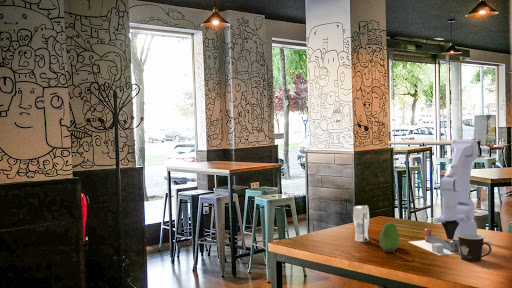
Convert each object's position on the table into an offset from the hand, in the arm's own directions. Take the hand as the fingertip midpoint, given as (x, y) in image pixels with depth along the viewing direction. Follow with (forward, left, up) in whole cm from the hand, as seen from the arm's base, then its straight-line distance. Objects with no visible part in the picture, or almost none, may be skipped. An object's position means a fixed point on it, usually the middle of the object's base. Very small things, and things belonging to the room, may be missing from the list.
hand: (450, 239), depth 201 cm
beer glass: (+28, -24, -4) cm, 37 cm away
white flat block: (+6, +2, -3) cm, 7 cm away
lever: (+6, +2, -2) cm, 7 cm away
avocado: (+26, -3, -4) cm, 26 cm away
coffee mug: (+7, +23, -4) cm, 24 cm away
